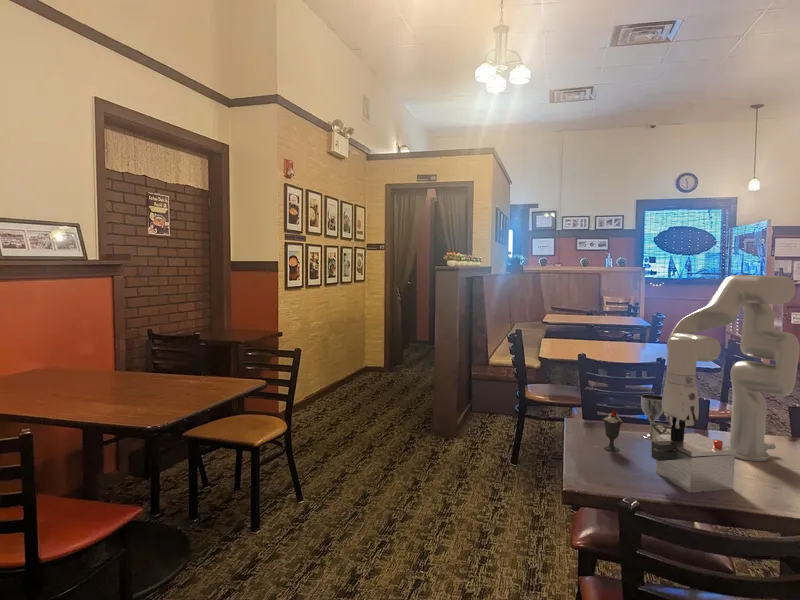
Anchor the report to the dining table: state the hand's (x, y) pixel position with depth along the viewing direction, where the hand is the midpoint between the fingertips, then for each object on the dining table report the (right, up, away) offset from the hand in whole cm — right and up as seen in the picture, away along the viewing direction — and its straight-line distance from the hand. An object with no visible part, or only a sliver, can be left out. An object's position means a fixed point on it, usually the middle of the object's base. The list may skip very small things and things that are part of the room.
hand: (677, 440), depth 153 cm
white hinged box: (+2, -12, -1) cm, 12 cm away
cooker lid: (+2, -1, -2) cm, 3 cm away
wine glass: (+11, -9, +38) cm, 40 cm away
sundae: (-9, -10, +25) cm, 28 cm away
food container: (+5, -11, +17) cm, 21 cm away
